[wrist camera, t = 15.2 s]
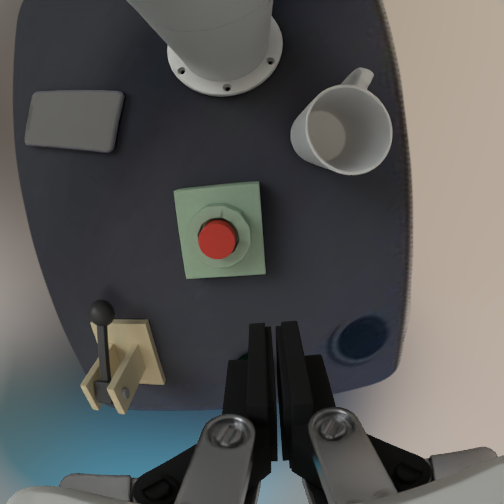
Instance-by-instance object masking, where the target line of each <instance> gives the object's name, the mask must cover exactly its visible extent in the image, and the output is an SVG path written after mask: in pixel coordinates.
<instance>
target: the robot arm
mask: <svg viewBox="0 0 504 504" xmlns="http://www.w3.org/2000/svg"><path fill="white" fill-rule="evenodd" d="M126 1H127V2H128V3H129V4H130V5H131V6H133V8H134V9H135V10H136V11H137V12H138V13H139V14H140V15H141V16H142V17H143V18H144V19H145V20H146V22H147V23H148V24H149V25H150V26H151V27H152V28H153V29H154V30H155V31H156V32H157V33H158V34H159V36H160V37H161V38H162V39H163V40H164V41H165V42H166V43H167V44H168V47H167V55H168V61H169V64H170V66H171V69H172V71H173V72H174V74H175V75H176V76H177V78H178V79H179V80H180V81H181V82H182V83H184V84H185V85H186V86H188V87H189V88H190V89H193V90H195V91H197V92H199V93H202V94H205V95H209V96H218V97H223V96H233V95H238V94H242V93H245V92H247V91H250V90H252V89H254V88H255V87H257V86H259V85H260V84H262V83H263V82H264V81H265V80H266V79H267V78H269V77H270V75H271V74H272V73H273V71H274V70H275V69H276V67H277V65H278V63H279V61H280V57H281V54H282V47H283V41H282V34H281V31H280V29H279V26H278V24H277V23H276V21H275V20H274V18H273V17H272V16H271V15H272V6H273V0H126ZM268 62H272V63H273V64H272V65H269V64H268ZM182 71H185V73H184V74H181V72H182ZM228 87H229V88H230V90H229V91H226V88H228ZM276 351H277V385H278V399H279V413H280V427H281V440H282V456H283V461H285V460H289V464H290V468H292V471H293V472H294V473H296V474H297V475H299V476H300V477H302V483H303V486H304V489H305V492H306V495H307V499H308V502H309V504H504V456H500V457H498V456H497V454H496V453H495V452H494V451H493V450H492V449H489V448H487V447H478V448H474V449H469V450H463V451H458V452H452V453H445V454H438V455H432V456H430V458H428V459H423V458H422V457H420V456H418V455H416V454H413V453H410V452H408V451H405V450H403V449H400V448H398V447H396V446H393V445H391V444H389V443H386V442H384V441H382V440H380V439H377V438H375V437H373V436H371V435H368V434H366V432H365V430H364V429H363V427H362V425H361V423H360V421H359V420H358V418H357V417H356V416H355V414H354V413H352V412H351V411H349V410H347V409H344V408H340V407H336V406H335V402H334V398H333V395H332V391H331V387H330V384H329V380H328V376H327V373H326V369H325V366H324V362H323V359H322V356H321V355H309V356H304V352H303V347H302V342H301V338H300V333H299V328H298V324H297V321H287V322H281V326H276ZM277 459H278V458H277V411H276V391H275V376H274V362H273V348H272V334H271V327H265V323H254V324H249V347H248V359H246V360H229V363H228V370H227V378H226V386H225V395H224V403H223V411H222V415H219V416H217V417H215V418H212V419H211V420H210V421H209V422H207V423H206V425H205V426H204V428H203V430H202V432H201V435H200V438H199V440H198V443H197V444H196V445H194V446H192V447H191V448H189V449H187V450H186V451H184V452H182V453H181V454H179V455H177V456H176V457H174V458H172V459H170V460H169V461H167V462H165V463H163V464H161V465H160V466H158V467H156V468H154V469H152V470H150V471H148V472H147V473H145V474H143V475H142V476H140V477H139V478H131V476H130V475H95V474H80V473H75V474H70V475H68V476H66V477H64V479H63V480H61V483H60V485H59V487H55V486H36V487H28V488H24V489H21V490H19V491H18V492H16V493H15V494H14V495H13V496H12V497H11V498H10V499H9V500H8V501H7V503H6V504H257V501H258V496H259V491H260V485H261V480H262V479H264V478H265V477H266V476H267V475H268V474H270V473H271V461H277Z"/></svg>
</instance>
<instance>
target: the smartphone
mask: <svg viewBox="0 0 504 504" xmlns="http://www.w3.org/2000/svg"><path fill="white" fill-rule="evenodd" d="M124 97H125V96H124V94H123V93H122V92H120V91H108V90H57V91H38V92H36V93H34V94H33V96H32V99H31V104H30V109H29V114H28V120H27V126H26V133H25V144H26V145H28V146H38V147H50V148H63V149H74V150H84V151H93V152H102V153H109V152H111V151H113V150H114V147H115V141H116V135H117V130H118V125H119V120H120V115H121V110H122V106H123V101H124Z"/></svg>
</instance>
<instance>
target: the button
mask: <svg viewBox="0 0 504 504" xmlns="http://www.w3.org/2000/svg"><path fill="white" fill-rule="evenodd" d="M235 243H236V233H235V230H234V228H233V227H232V226H231V225H230V224H229V223H227V222H226V221H223V220H214V221H211V222H209V223H208V224H206V225H205V227H204V228H203V229H202V231H201V232H200V235H199V238H198V244H199V247H200V249H201V251H202V252H203V253H204V254H205V255H206V256H207V257H209V258H212V259H223V258H225V257H227V256H229V255H230V254H231V253H232V251H233V249H234V247H235Z"/></svg>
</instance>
